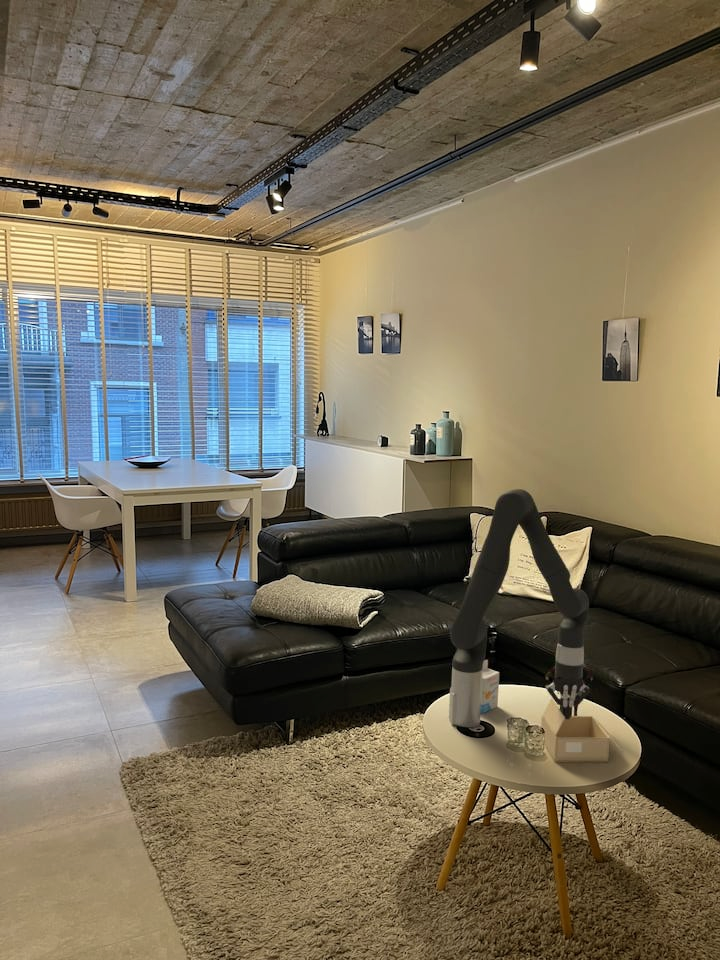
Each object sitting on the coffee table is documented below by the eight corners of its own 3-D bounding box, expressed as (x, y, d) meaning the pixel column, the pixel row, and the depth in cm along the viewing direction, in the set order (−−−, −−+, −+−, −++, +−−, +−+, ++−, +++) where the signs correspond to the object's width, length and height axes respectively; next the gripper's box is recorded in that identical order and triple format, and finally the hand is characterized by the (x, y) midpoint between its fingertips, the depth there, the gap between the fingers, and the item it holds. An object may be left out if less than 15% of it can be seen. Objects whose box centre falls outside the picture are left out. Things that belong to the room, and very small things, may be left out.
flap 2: (609, 737, 204) (623, 751, 205) (594, 717, 217) (606, 730, 217) (609, 738, 204) (622, 752, 205) (593, 718, 217) (605, 731, 217)
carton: (554, 762, 203) (556, 738, 203) (540, 737, 218) (541, 715, 217) (608, 763, 204) (610, 739, 203) (590, 738, 219) (591, 715, 218)
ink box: (483, 714, 234) (485, 669, 232) (470, 709, 237) (472, 665, 235) (498, 706, 240) (500, 662, 238) (485, 701, 243) (487, 658, 241)
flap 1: (555, 735, 204) (564, 717, 203) (542, 715, 216) (551, 698, 216) (556, 735, 204) (565, 717, 203) (543, 715, 216) (552, 699, 216)
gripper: (550, 664, 204) (546, 723, 206) (597, 664, 205) (593, 724, 207) (542, 654, 212) (539, 712, 214) (588, 655, 212) (584, 712, 214)
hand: (565, 718), depth 210 cm, fingers closed
